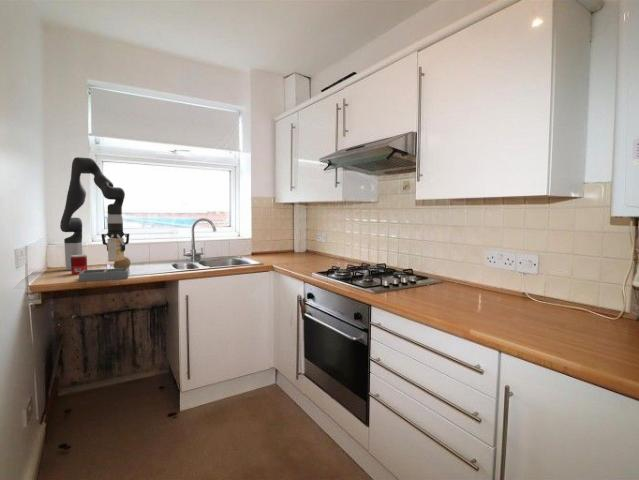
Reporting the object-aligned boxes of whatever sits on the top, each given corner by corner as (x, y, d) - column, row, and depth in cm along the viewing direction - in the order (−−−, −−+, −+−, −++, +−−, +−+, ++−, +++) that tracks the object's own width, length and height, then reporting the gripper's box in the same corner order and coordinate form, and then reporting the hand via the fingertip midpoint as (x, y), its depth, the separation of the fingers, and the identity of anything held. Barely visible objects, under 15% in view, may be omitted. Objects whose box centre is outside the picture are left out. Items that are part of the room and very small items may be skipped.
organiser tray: (83, 277, 201) (83, 270, 200) (129, 274, 210) (129, 267, 210) (79, 281, 189) (78, 273, 189) (127, 278, 198) (127, 271, 198)
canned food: (90, 273, 214) (89, 255, 213) (76, 275, 207) (75, 256, 206) (82, 272, 217) (81, 254, 216) (68, 274, 210) (67, 255, 209)
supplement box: (116, 261, 197) (115, 238, 196) (107, 261, 197) (106, 238, 196) (124, 259, 205) (123, 237, 204) (116, 259, 205) (115, 237, 204)
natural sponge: (113, 274, 211) (113, 257, 210) (114, 271, 219) (113, 255, 218) (130, 273, 215) (130, 256, 214) (130, 270, 223) (130, 255, 222)
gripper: (130, 222, 206) (130, 250, 207) (101, 222, 200) (102, 251, 201) (129, 222, 199) (130, 252, 200) (99, 222, 193) (100, 253, 194)
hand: (116, 251), depth 201 cm, fingers closed on supplement box, 6 cm apart
